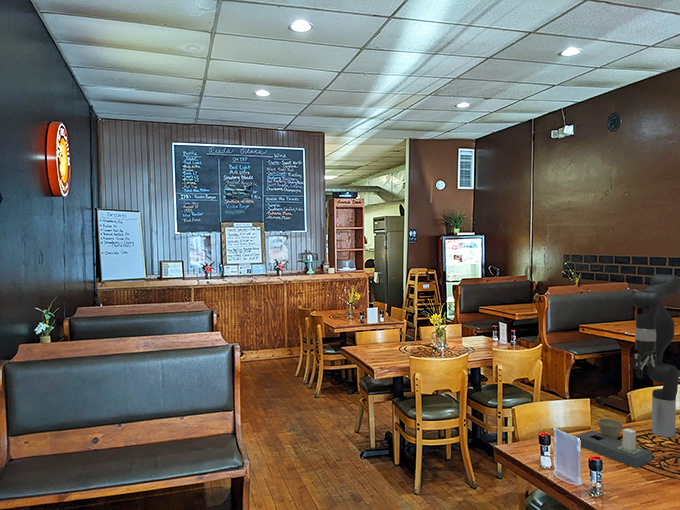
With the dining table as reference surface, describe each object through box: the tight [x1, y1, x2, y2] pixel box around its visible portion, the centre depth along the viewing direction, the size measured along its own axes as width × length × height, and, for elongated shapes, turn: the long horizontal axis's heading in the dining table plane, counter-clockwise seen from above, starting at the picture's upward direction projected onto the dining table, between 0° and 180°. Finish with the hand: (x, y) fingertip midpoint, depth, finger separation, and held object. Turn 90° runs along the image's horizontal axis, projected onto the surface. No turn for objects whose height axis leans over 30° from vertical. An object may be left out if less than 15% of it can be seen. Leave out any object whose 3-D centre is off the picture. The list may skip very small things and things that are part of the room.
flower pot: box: [597, 417, 623, 439], centre depth 221 cm, size 10×10×7 cm
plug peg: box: [621, 428, 637, 452], centre depth 200 cm, size 3×4×12 cm
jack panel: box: [575, 430, 653, 469], centre depth 205 cm, size 12×26×4 cm, turn 30°
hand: (644, 376), depth 204 cm, fingers open, 8 cm apart
